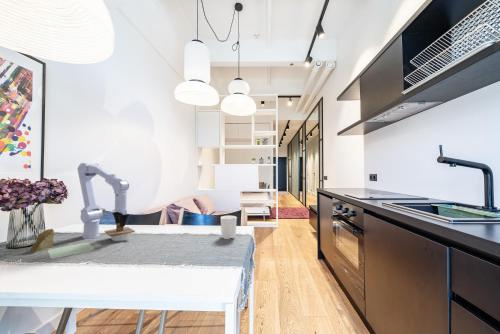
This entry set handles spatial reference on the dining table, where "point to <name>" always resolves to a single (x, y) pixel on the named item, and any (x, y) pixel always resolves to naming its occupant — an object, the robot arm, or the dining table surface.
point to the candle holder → (228, 226)
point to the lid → (119, 231)
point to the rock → (43, 241)
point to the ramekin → (120, 237)
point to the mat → (70, 250)
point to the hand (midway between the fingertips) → (120, 225)
